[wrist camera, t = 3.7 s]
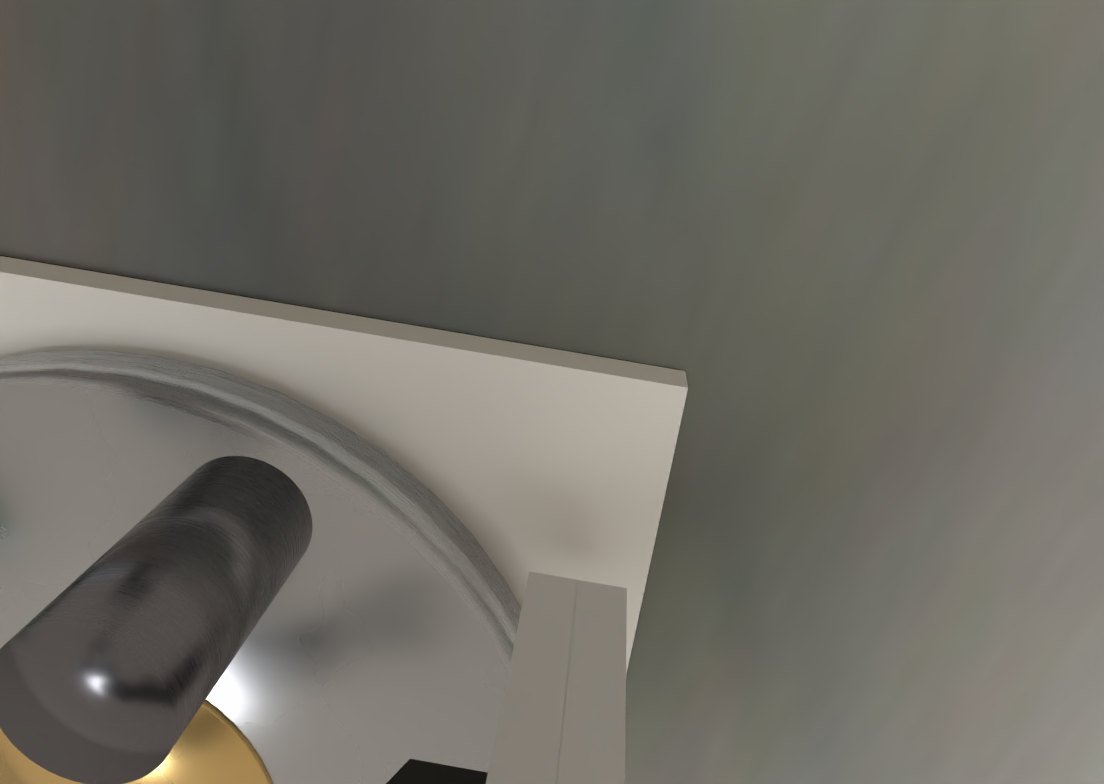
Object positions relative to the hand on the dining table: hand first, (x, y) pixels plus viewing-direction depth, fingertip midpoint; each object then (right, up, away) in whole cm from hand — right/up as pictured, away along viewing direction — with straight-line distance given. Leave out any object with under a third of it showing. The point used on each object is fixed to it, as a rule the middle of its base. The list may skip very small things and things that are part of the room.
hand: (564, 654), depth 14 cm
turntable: (-9, -4, +6) cm, 12 cm away
